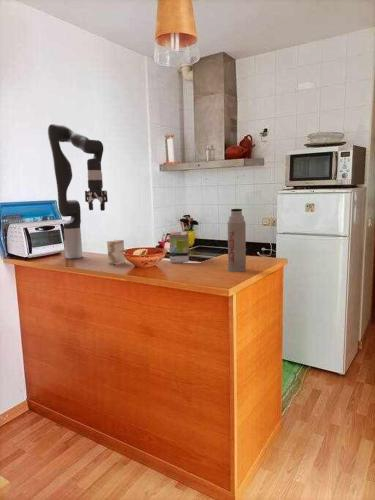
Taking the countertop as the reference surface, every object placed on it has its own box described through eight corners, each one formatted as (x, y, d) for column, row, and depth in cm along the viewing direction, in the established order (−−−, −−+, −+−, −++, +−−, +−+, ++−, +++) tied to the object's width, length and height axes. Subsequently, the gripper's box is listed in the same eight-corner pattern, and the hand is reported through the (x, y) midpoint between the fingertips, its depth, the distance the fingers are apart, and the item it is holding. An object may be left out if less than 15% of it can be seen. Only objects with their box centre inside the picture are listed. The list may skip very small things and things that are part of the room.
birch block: (108, 263, 195) (106, 241, 193) (116, 261, 200) (114, 239, 198) (117, 264, 192) (115, 241, 190) (124, 262, 197) (123, 240, 195)
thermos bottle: (233, 272, 166) (233, 209, 161) (225, 269, 173) (224, 208, 168) (249, 270, 169) (248, 208, 164) (239, 267, 176) (239, 208, 171)
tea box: (189, 262, 192) (188, 234, 189) (169, 263, 192) (168, 234, 190) (189, 257, 207) (188, 230, 204) (171, 257, 207) (170, 231, 204)
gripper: (80, 179, 195) (82, 210, 198) (99, 178, 188) (101, 211, 191) (90, 179, 202) (92, 209, 204) (110, 178, 194) (111, 210, 197)
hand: (96, 210), depth 198 cm, fingers open, 8 cm apart
